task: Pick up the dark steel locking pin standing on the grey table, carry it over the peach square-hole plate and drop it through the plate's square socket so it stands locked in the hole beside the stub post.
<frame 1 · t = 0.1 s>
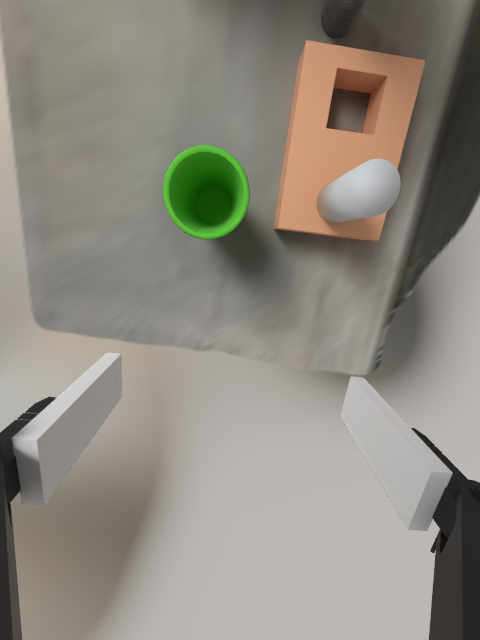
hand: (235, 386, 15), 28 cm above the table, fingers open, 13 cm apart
pin: (337, 17, 32), on the table
cup: (214, 206, 39), on the table
peach square-hole plate: (334, 159, 37), on the table
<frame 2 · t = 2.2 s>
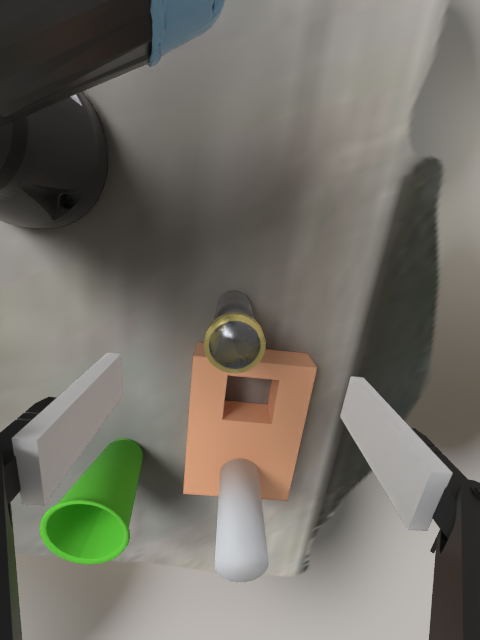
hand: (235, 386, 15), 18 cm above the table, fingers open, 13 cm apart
pin: (234, 307, 32), on the table
cup: (126, 451, 38), on the table
peach square-hole plate: (243, 414, 37), on the table
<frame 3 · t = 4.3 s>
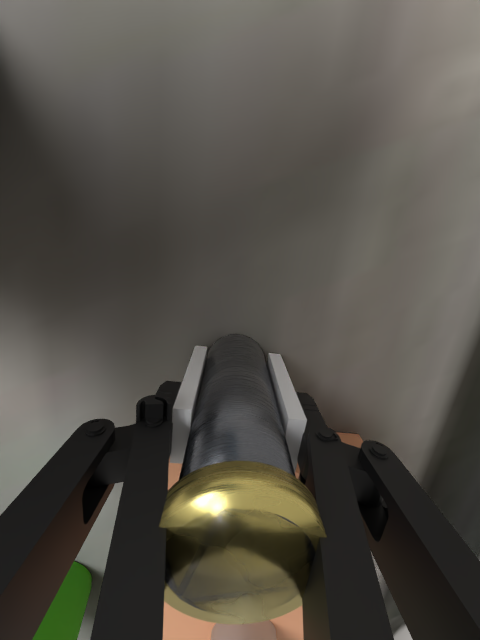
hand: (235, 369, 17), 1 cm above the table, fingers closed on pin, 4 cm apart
pin: (235, 361, 18), on the table, touching gripper
cup: (65, 574, 24), on the table
peach square-hole plate: (250, 524, 23), on the table
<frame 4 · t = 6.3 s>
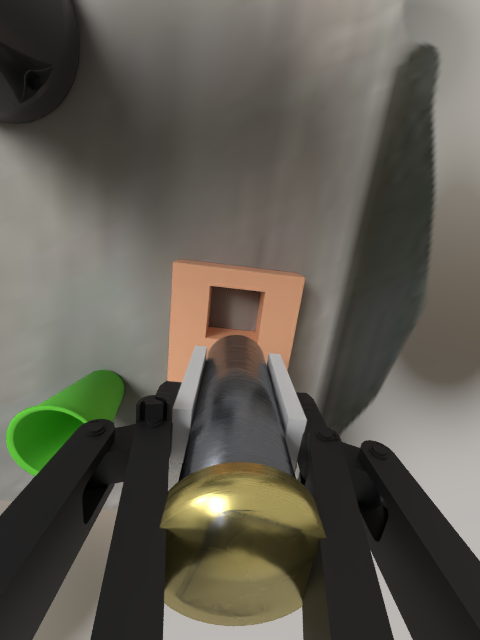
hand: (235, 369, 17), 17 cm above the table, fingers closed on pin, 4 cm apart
pin: (235, 362, 18), point 16 cm above the table, touching gripper
cup: (106, 385, 36), on the table
peach square-hole plate: (230, 343, 35), on the table
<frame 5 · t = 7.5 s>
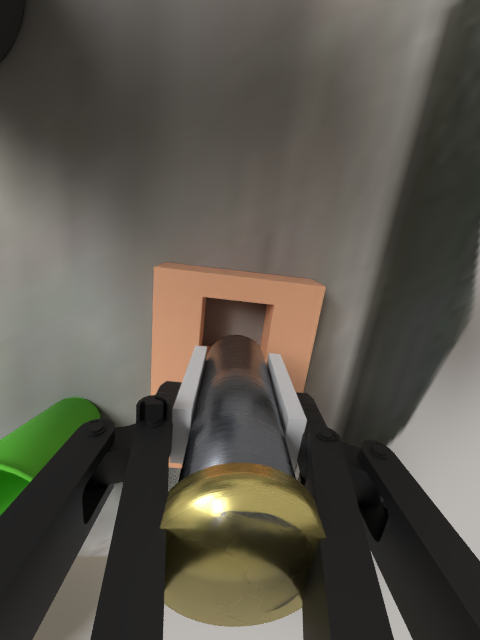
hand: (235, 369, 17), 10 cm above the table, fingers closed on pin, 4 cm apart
pin: (235, 362, 18), point 9 cm above the table, touching gripper
cup: (79, 414, 30), on the table
peach square-hole plate: (229, 365, 28), on the table
when the fingers open (6 cm above the table, at t = 8.5 s): pin drops 4 cm, resting in peach square-hole plate.
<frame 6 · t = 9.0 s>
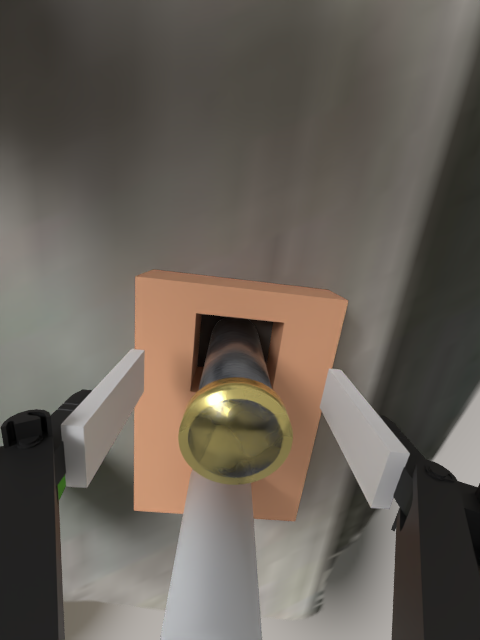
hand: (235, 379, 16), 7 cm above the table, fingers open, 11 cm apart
pin: (234, 338, 23), resting in peach square-hole plate
peach square-hole plate: (228, 389, 24), on the table
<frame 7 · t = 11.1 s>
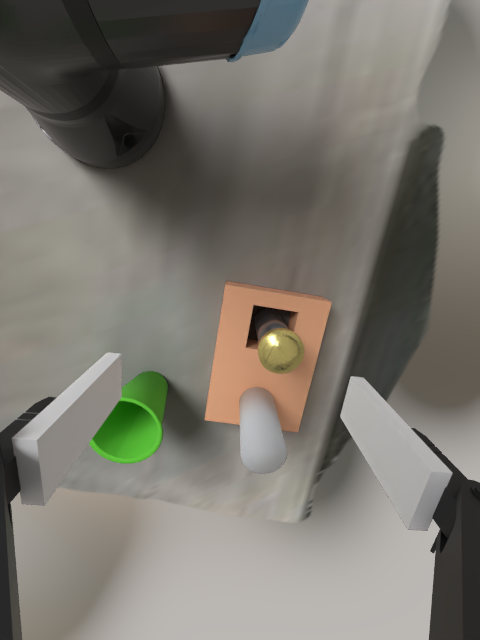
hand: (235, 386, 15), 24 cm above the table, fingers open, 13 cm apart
pin: (267, 322, 39), resting in peach square-hole plate
cup: (152, 384, 42), on the table
peach square-hole plate: (261, 353, 41), on the table
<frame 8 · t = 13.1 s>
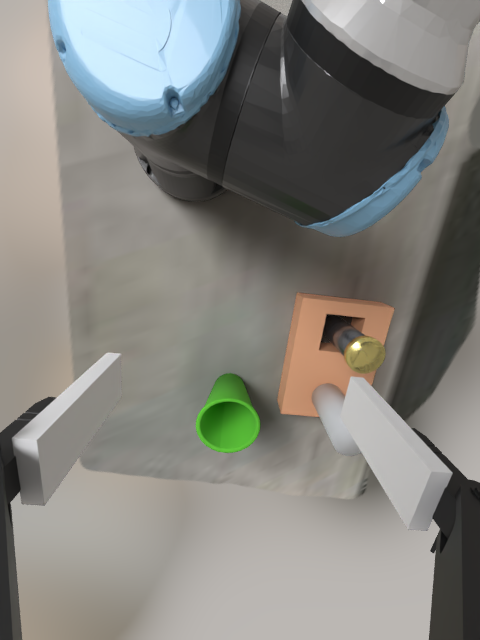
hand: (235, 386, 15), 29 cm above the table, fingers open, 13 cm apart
pin: (332, 326, 45), resting in peach square-hole plate
cup: (229, 385, 48), on the table
peach square-hole plate: (326, 353, 46), on the table
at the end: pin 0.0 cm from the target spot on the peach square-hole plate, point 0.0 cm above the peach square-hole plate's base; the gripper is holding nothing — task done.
